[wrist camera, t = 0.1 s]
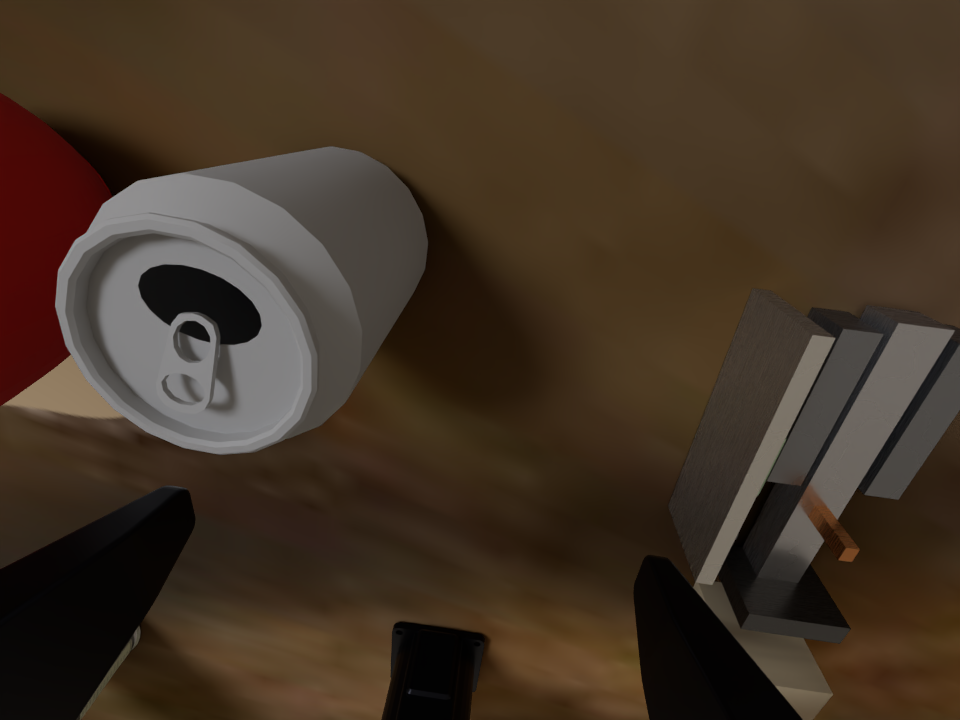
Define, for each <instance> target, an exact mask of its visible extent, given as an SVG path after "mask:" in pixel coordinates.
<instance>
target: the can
mask: <svg viewBox="0 0 960 720" xmlns="http://www.w3.org/2000/svg"><path fill="white" fill-rule="evenodd" d="M427 249H428V239H427V234H426V229H425V224H424V219H423V215H422V213H421V211H420V209H419V207H418V205H417V203H416V201H415V200H414V198H413V196H412V194H411V192H410V190H409V188H408V187H407V186H406V185H405V184H404V183H403V182H402V181H401V180H400V179H399V178H398V177H397V176H396V175H395V174H394V173H393V172H392V171H391V170H390V169H389V168H388V167H387V166H385V165H383V164H382V163H380V162H378V161H376V160H374V159H372V158H371V157H369V156H367V155H365V154H363V153H362V152H359V151H353V150H348V149H343V148H337V147H332V146H331V147H325V148H319V149H313V150H307V151H301V152H296V153H290V154H285V155H279V156H273V157H268V158H262V159H257V160H251V161H245V162H240V163H234V164H228V165H223V166H217V167H212V168H206V169H200V170H195V171H189V172H184V173H178V174H172V175H167V176H161V177H155V178H150V179H144V180H139V181H136V182H135V183H133V184H132V185H130V186H129V187H127V188H126V189H124V190H123V191H121V192H120V193H118V194H117V195H115V196H114V197H112V198H111V199H109V200H108V201H106V202H105V203H103V205H102V206H101V208H100V210H99V211H98V213H97V215H96V217H95V218H94V220H93V222H92V224H91V225H90V227H89V229H88V231H87V232H86V233H85V234H83V235H82V236H80V237H79V238H77V239H76V240H75V241H74V243H73V245H72V247H71V248H70V250H69V252H68V254H67V255H66V257H65V259H64V261H63V262H62V264H61V266H60V268H59V269H58V278H57V290H56V302H55V307H56V311H57V315H58V319H59V322H60V326H61V330H62V334H63V337H64V341H65V345H66V347H67V348H68V350H69V352H70V353H71V355H72V357H73V359H74V360H75V362H76V363H77V365H78V367H79V369H80V370H81V372H82V374H83V375H84V377H85V379H86V380H87V381H88V382H89V383H90V384H91V386H92V387H94V389H95V390H96V391H97V392H98V393H99V394H100V395H101V396H102V397H103V398H104V399H105V400H106V401H107V402H108V403H109V405H111V407H112V408H113V409H114V410H116V411H117V412H119V413H120V414H121V415H123V416H124V417H126V418H127V419H129V420H130V421H132V422H133V423H134V424H136V425H137V426H139V427H140V428H142V429H143V430H144V431H146V432H148V433H150V434H152V435H155V436H157V437H159V438H162V439H164V440H166V441H169V442H171V443H173V444H176V445H178V446H180V447H183V448H187V449H192V450H198V451H203V452H208V453H214V454H219V455H224V454H238V453H251V452H256V451H259V450H261V449H264V448H266V447H268V446H271V445H273V444H276V443H278V442H281V441H283V440H284V439H287V438H291V437H294V436H296V435H298V434H301V433H303V432H306V431H308V430H311V429H313V428H316V427H318V426H321V425H322V424H323V423H324V422H325V421H326V420H327V419H328V418H329V417H330V416H331V415H333V414H334V413H335V412H336V411H337V410H338V409H339V408H340V407H341V406H342V405H343V404H344V403H345V402H346V401H347V399H348V398H349V396H350V394H351V393H352V391H353V390H354V388H355V386H356V385H357V383H358V382H359V380H360V378H361V377H362V375H363V373H364V372H365V370H366V369H367V367H368V365H369V364H370V362H371V361H372V359H373V357H374V356H375V354H376V353H377V351H378V349H379V348H380V346H381V344H382V343H383V341H384V340H385V338H386V336H387V335H388V333H389V332H390V330H391V328H392V327H393V325H394V324H395V322H396V320H397V319H398V317H399V315H400V314H401V312H402V311H403V309H404V307H405V306H406V304H407V303H408V301H409V299H410V298H411V296H412V295H413V293H414V291H415V289H416V287H417V285H418V283H419V281H420V279H421V277H422V275H423V273H424V270H425V266H426V258H427Z"/></svg>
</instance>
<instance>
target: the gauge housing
mask: <svg viewBox="0 0 960 720" xmlns="http://www.w3.org/2000/svg"><path fill="white" fill-rule="evenodd" d="M943 325H944V324H943ZM945 326H947V327H949V328H951V329H953V330H955V331H954V333H953V335H952V336H951V338H950V339H949V341H948V343H947V344H946V346H945V347H944V349H943V351H942V352H941V354H940V355H939V357H938V359H937V360H936V362H935V364H934V365H933V367H932V368H931V370H930V372H929V373H928V375H927V376H926V378H925V380H924V381H923V383H922V384H921V386H920V388H919V389H918V391H917V392H916V394H915V396H914V397H913V399H912V400H911V402H910V404H909V405H908V407H907V409H906V410H905V412H904V413H903V415H902V417H901V418H900V420H899V421H898V423H897V425H896V426H895V428H894V429H893V431H892V433H891V434H890V436H889V437H888V439H887V441H886V442H885V444H884V446H883V447H882V449H881V450H880V452H879V454H878V455H877V457H876V458H875V460H874V462H873V463H872V465H871V466H870V468H869V470H868V471H867V473H866V474H865V476H864V478H863V479H862V481H861V483H860V484H859V486H858V488H859V489H860V491H861V492H862V493H863V494H864V495H869V496H876V497H883V498H890V499H897V500H898V499H899V498H900V496H901V495H902V494H903V492H904V491H905V489H906V488H907V486H908V485H909V483H910V482H911V480H912V479H913V477H914V476H915V475H916V473H917V472H918V470H919V469H920V467H921V466H922V464H923V463H924V461H925V460H926V458H927V457H928V456H929V454H930V453H931V451H932V450H933V448H934V447H935V445H936V444H937V442H938V441H939V439H940V438H941V437H942V435H943V434H944V432H945V431H946V429H947V428H948V426H949V425H950V423H951V422H952V421H953V419H954V418H955V416H956V415H957V413H958V412H959V410H960V329H959V328H957V327H955V326H951V325H945ZM883 335H884V334H883V333H881V332H880V331H878V330H876V329H875V328H873V327H872V326H870V325H868V324H867V323H865V322H864V321H862V320H860V319H859V318H857V317H855V316H854V315H852V314H851V313H849V312H844V311H836V310H829V309H821V308H813V307H812V308H811V311H810V313H809V315H808V317H806V316H805V315H804V314H802V313H801V312H799V311H798V310H797V309H795V308H794V307H793V306H791V305H790V304H788V303H787V302H786V301H784V300H783V299H782V298H780V297H779V296H778V295H776V294H775V293H773V292H772V291H769V290H761V289H752V292H751V295H750V297H749V300H748V302H747V305H746V307H745V310H744V312H743V315H742V318H741V320H740V323H739V325H738V328H737V330H736V333H735V336H734V338H733V341H732V343H731V346H730V348H729V351H728V353H727V356H726V359H725V361H724V364H723V366H722V369H721V371H720V374H719V377H718V379H717V382H716V384H715V387H714V389H713V392H712V394H711V397H710V400H709V402H708V405H707V407H706V410H705V412H704V415H703V418H702V420H701V423H700V425H699V428H698V430H697V433H696V435H695V438H694V441H693V443H692V446H691V448H690V451H689V453H688V456H687V459H686V461H685V464H684V466H683V469H682V471H681V474H680V476H679V479H678V482H677V484H676V487H675V489H674V492H673V494H672V497H671V500H670V502H669V505H668V508H669V510H670V513H671V516H672V519H673V521H674V524H675V527H676V530H677V533H678V535H679V538H680V541H681V544H682V547H683V549H684V552H685V555H686V558H687V560H688V563H689V566H690V569H691V572H692V574H693V577H694V580H695V582H696V583H702V584H709V585H713V583H714V581H715V579H716V577H717V575H718V573H719V571H720V569H721V567H722V565H723V563H724V561H725V559H726V557H727V555H728V553H729V551H730V549H731V547H732V545H733V543H734V541H735V540H736V539H737V537H738V533H739V531H740V529H741V527H742V525H743V523H744V521H745V519H746V517H747V515H748V513H749V511H750V509H751V507H752V505H753V503H754V501H755V499H756V497H757V496H758V495H759V493H760V491H761V489H762V487H763V485H764V483H765V481H769V482H776V483H783V484H790V485H797V486H801V484H802V483H803V481H804V479H805V477H806V475H807V473H808V472H809V470H810V468H811V466H812V464H813V463H814V461H815V459H816V457H817V455H818V453H819V452H820V450H821V448H822V446H823V444H824V442H825V441H826V439H827V437H828V435H829V433H830V432H831V430H832V428H833V426H834V424H835V422H836V421H837V419H838V417H839V415H840V413H841V411H842V410H843V408H844V406H845V404H846V402H847V401H848V399H849V397H850V395H851V393H852V391H853V390H854V388H855V386H856V384H857V382H858V380H859V379H860V377H861V375H862V373H863V371H864V370H865V368H866V366H867V364H868V362H869V360H870V359H871V357H872V355H873V353H874V351H875V350H876V348H877V346H878V344H879V342H880V340H881V339H882V337H883Z"/></svg>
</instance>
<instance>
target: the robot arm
mask: <svg viewBox="0 0 960 720" xmlns="http://www.w3.org/2000/svg"><path fill="white" fill-rule="evenodd" d="M194 525H195V514H194V509H193V505H192V501H191V496H190V493H189V491H188V490H187V489H186V488H183V487H176V486H163V487H161V488H159V489H157V490H155V491H153V492H151V493H149V494H147V495H145V496H143V497H141V498H139V499H137V500H135V501H133V502H131V503H129V504H127V505H125V506H123V507H121V508H119V509H118V510H116V511H114V512H112V513H110V514H108V515H106V516H104V517H102V518H100V519H98V520H96V521H94V522H92V523H90V524H88V525H86V526H84V527H82V528H80V529H78V530H76V531H74V532H72V533H70V534H68V535H67V536H65V537H63V538H61V539H59V540H57V541H55V542H53V543H51V544H49V545H47V546H45V547H43V548H41V549H39V550H37V551H35V552H33V553H31V554H29V555H27V556H25V557H23V558H21V559H19V560H17V561H16V562H14V563H12V564H10V565H8V566H6V567H4V568H2V569H0V720H77V718H78V717H79V715H80V714H81V712H82V711H83V709H84V708H85V706H86V705H87V703H88V702H89V700H90V699H91V697H92V696H93V694H94V693H95V691H96V690H97V688H98V687H99V685H100V684H101V682H102V681H103V679H104V678H105V676H106V675H107V673H108V672H109V670H110V669H111V667H112V666H113V664H114V663H115V661H116V660H117V658H118V657H119V655H120V654H121V652H122V651H123V649H124V648H125V646H126V645H127V643H128V641H129V640H130V638H131V637H132V635H133V634H134V632H135V631H136V629H137V628H138V626H139V625H140V623H141V622H142V620H143V619H144V617H145V616H146V614H147V613H148V611H149V610H150V608H151V606H152V605H153V603H154V601H155V600H156V598H157V596H158V594H159V593H160V591H161V589H162V587H163V585H164V583H165V581H166V580H167V578H168V576H169V574H170V572H171V570H172V568H173V566H174V565H175V563H176V561H177V559H178V557H179V555H180V553H181V552H182V550H183V548H184V546H185V544H186V542H187V540H188V538H189V537H190V535H191V533H192V531H193V528H194ZM634 605H635V615H636V626H637V637H638V647H639V658H640V668H641V676H642V683H643V689H644V694H645V699H646V704H647V709H648V714H649V719H650V720H803V719H802V718H801V716H800V715H799V714H798V713H797V712H796V710H795V709H794V708H793V707H792V706H791V704H790V703H789V702H788V701H787V700H786V698H785V697H784V696H783V695H782V694H781V692H780V691H779V690H778V689H777V688H776V686H775V685H774V684H773V683H772V682H771V680H770V679H769V678H768V677H767V676H766V674H765V673H764V672H763V671H762V670H761V668H760V667H759V666H758V665H757V664H756V662H755V661H754V660H753V659H752V658H751V656H750V655H749V654H748V653H747V652H746V650H745V649H744V648H743V647H742V646H741V644H740V643H739V642H738V641H737V640H736V638H735V637H734V636H733V635H732V634H731V632H730V631H729V630H728V629H727V628H726V626H725V625H724V624H723V623H722V622H721V620H720V619H719V618H718V617H717V616H716V614H715V613H714V612H713V611H712V610H711V608H710V607H709V606H708V605H707V604H706V602H705V601H704V600H703V599H702V598H701V596H700V595H699V594H698V593H697V592H696V590H695V589H694V588H693V587H692V586H691V584H690V583H689V582H688V581H687V580H686V578H685V577H684V576H683V575H682V574H681V572H680V571H679V570H678V569H677V568H676V566H675V565H674V564H673V563H672V562H671V561H670V560H669V559H668V558H665V557H660V556H653V555H647V556H646V557H645V558H644V560H643V562H642V565H641V567H640V570H639V573H638V575H637V578H636V580H635V584H634ZM484 642H485V638H484V637H483V636H482V635H479V634H473V633H466V632H460V631H453V630H446V629H440V628H433V627H426V626H420V625H413V624H406V623H396V624H394V627H393V631H392V653H391V682H390V686H389V690H388V694H387V699H386V703H385V707H384V711H383V715H382V720H470V711H471V700H472V692H475V691H476V687H477V682H478V676H479V671H480V666H481V660H482V655H483V649H484Z"/></svg>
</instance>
